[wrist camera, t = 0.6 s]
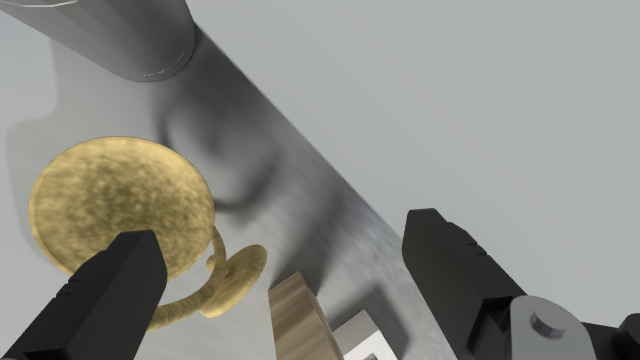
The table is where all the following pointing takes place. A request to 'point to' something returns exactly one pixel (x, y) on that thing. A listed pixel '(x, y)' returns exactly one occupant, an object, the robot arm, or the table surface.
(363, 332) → the square well
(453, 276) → the robot arm
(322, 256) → the table surface
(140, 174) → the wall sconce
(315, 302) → the wooden l-shaped block
